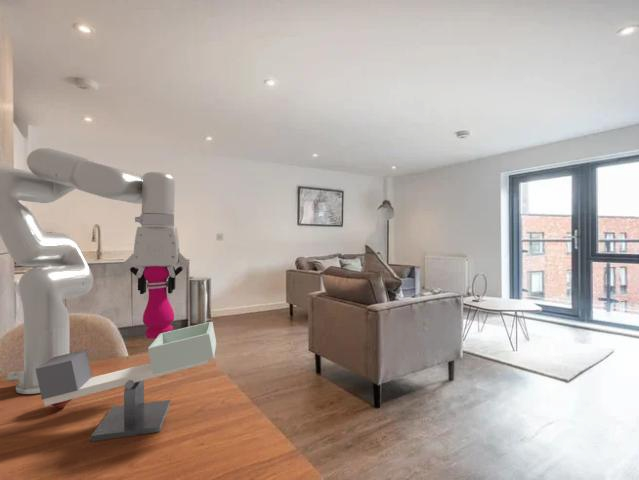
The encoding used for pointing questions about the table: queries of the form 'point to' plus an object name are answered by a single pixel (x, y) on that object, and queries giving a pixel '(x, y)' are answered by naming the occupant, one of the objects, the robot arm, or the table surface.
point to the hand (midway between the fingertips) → (156, 292)
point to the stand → (132, 416)
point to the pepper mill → (157, 302)
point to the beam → (165, 356)
